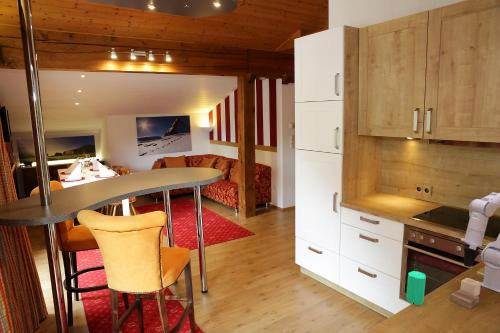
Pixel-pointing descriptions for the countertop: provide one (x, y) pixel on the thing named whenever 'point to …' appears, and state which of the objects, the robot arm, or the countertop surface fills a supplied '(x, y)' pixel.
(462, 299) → the stand
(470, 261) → the robot arm
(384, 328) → the countertop surface
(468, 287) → the block
